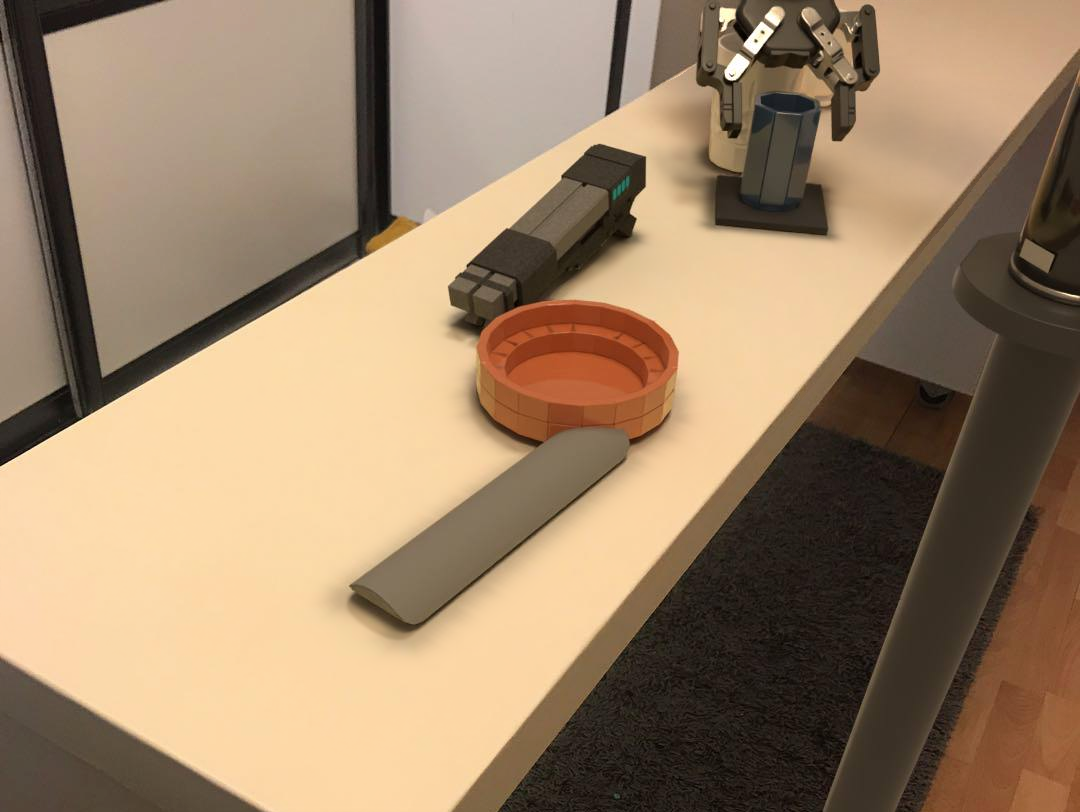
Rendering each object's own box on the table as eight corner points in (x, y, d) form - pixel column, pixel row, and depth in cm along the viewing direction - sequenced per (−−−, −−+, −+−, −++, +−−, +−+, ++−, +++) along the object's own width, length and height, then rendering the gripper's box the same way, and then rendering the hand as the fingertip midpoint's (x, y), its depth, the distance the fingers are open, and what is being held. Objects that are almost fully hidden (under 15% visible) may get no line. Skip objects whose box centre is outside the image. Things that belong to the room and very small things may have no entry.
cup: (850, 93, 113) (869, 11, 107) (840, 125, 106) (860, 38, 100) (784, 84, 114) (799, 2, 109) (770, 114, 107) (785, 28, 102)
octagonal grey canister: (799, 189, 92) (818, 94, 86) (802, 215, 88) (822, 116, 82) (738, 184, 92) (754, 88, 87) (738, 209, 88) (755, 110, 83)
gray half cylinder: (342, 597, 52) (339, 570, 51) (576, 424, 64) (577, 399, 63) (405, 637, 51) (404, 610, 49) (634, 451, 62) (637, 426, 61)
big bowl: (675, 357, 71) (682, 310, 69) (666, 465, 62) (674, 415, 60) (495, 338, 72) (495, 291, 70) (460, 442, 63) (460, 392, 61)
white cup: (695, 169, 95) (711, 52, 89) (708, 139, 101) (724, 26, 95) (783, 182, 94) (806, 63, 88) (792, 150, 100) (814, 37, 93)
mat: (819, 190, 93) (821, 184, 93) (826, 235, 86) (828, 228, 86) (716, 181, 94) (717, 174, 93) (715, 224, 87) (716, 217, 87)
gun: (654, 228, 85) (646, 120, 76) (521, 405, 77) (496, 306, 69) (605, 213, 86) (592, 106, 78) (470, 385, 79) (440, 286, 70)
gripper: (707, -93, 82) (709, 111, 81) (889, -87, 82) (894, 116, 81) (688, -34, 89) (690, 154, 88) (855, -29, 90) (859, 158, 89)
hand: (788, 136), depth 85 cm, fingers open, 8 cm apart
